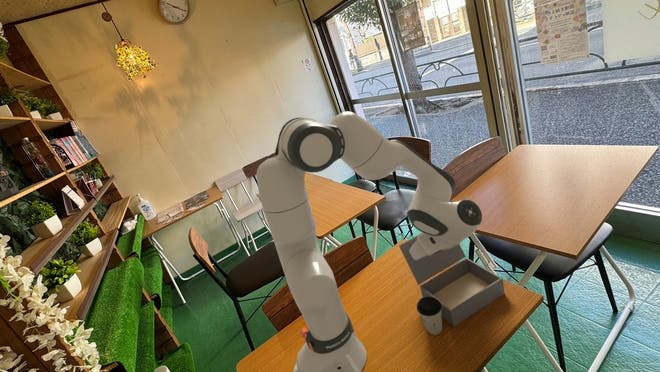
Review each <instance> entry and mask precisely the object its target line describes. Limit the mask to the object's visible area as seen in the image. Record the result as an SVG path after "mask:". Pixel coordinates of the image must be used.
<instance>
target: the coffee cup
mask: <svg viewBox="0 0 660 372" xmlns="http://www.w3.org/2000/svg"><path fill="white" fill-rule="evenodd" d="M441 307H442V305H441V303H440V302H439V301H438V300H437V299H436V298H434V297H424V298H423V297H421V298H420V299H419V300H418V302H417V303H416V310H417V312H418V314H419V317H421V320H422V322H423V323H422V324H423V325H424V326H425V329H426V331H427V332H428V334H430V335H434V336H435V335H439V334H441V333H442V332H443V317H442V315H441Z"/></svg>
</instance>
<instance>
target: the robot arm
mask: <svg viewBox="0 0 660 372" xmlns="http://www.w3.org/2000/svg"><path fill="white" fill-rule="evenodd" d="M274 153H275V156H272V157H270V158H267V159H266V160H264V161H262V163H261V164H259V165H258V167H257V170H256V183H257V191H258V195H259V199H260V203H261V207H262V210H263V212H264V215H265V218H266V221H267V224H268V227H269V228H268V229H269V231H270V234H271V237H272V240H273V242H274V246H275V249H276V252H277V255H278V260H279V261H280V265H281V267H282V270H283V273H284V276H285V278H286V280H285V281H286V282H287V285H288V288H289V291H290V293H291V296H292V297H293V299H294V302H295V304H296V306H297V307H298V310H299V311H300V312H301V315H302V316H303V319H304V321H305V323H306V325H307V327H302V328H301V329H300V334H301V336H302V338H304V339H305V343H304V345H303V346H302V347H301V348H300V350H299V351H298V353H297V356H296V363H295V365H294V368H293V372H362V370H363V369H364V367H365V366H366V362H367V357H368V356H367V349H366V347H365V346H364V344H363V343H362V342H361V341H360V339H358V337H357V335H356V334H355V331H354V326H353V324H352V321H351V318H350V316H349V315H348V314H347V312H346V311H345V308H344V305H343V303H342V300H341V298H340V294H339V291H338V290H339V289H338V285H337V282H336V278H335V276H334V273H333V272H334V271H333V269H332V268H331V267H330V264H328V262H327V260H326V258H325V257H324V254H322V251H321V249H320V246H319V244H318V243H319V242H318V238H317V229H316V227H317V223H316V220H315V217H314V213H313V209H312V205H311V202H310V198H309V195H308V191H307V188H306V183H305V181H306V180H305V178H306V177H305V176H306V172H307V173H319V172H322V171H324V170H326V169H328V168H329V167H331V165H333V164H334V163H335V162H336V161H338V160H339V159H340V160H341V161H343V162H344V163H345V164H346V165H347V166H348V167H349V168H350V169H351V170H352V171H353V172H355V174H357V175H358V176H360V177H361V178H363V179H364V180H370V181H374V180H381V179H383V178H385V177H389V176H390V175H391V174H393V172H395V171H396V170H397V169H398V168H399V167H400V166H401V167H402V168H404V169H405V170H407V171H408V172H409V173H410V174H412V175H413V176H415V177H416V179H417V187H416V189H415V192H414V194H413V196H412V200H411V201H410V203H409V207H408V210H407V212H406V216H407V218H408V221H409V222H410V223H411V225H412V226H413V227H414V228H415V229H416V230H418V231H419V232H421V233H422V234H421V233H419V234H420V235H419V234H418V235H419V236H418V237H417V241H416V242H415V243H414V244H413V245H412V247H411V248H410V250H409V252H410V254H411V256H412V257H413V259H414V260H419V259H421V258H423V257H425V256H427V255H428V256H431V255H433V254H435V253H438V252H440V251H443V250H447V249H451V248H454V247H455V246H457V245H458V244H461V243H462V242H463V241H465V239H467V238H469V237H470V236H472V235H473V233H475V232H476V231H477V230H478V229H479V227H480V226H481V224H482V222H483V213H482V210H481V208H480V206H479V205H478V204H477V203H476V202H475V201H473V200H471V199H467V198H466V199H465V198H464V199H461V200H458V201H451V198H452V196H453V194H454V192H455V190H456V186H457V185H456V181H455V179H454V177H453V176H452V175H451V174H450V173H449V172H448V171H446V170H444V169H442V168H440V167H439V166H436V165H435V164H434V163H433V162H431V161H430V160H428V159H427V158H426V157H425V156H423V155H422V154H420V152H418V151H416V149H414V148H413V147H412V146H410V145H408V143H405V142H403V140H398V139H391V140H389V139H388V138H386V137H385V136H383V134H381V132H380V131H379V130H378V129H376V127H374V126H373V125H372V124H370V123H369V122H368V121H367V120H365V119H364V118H363V117H362V116H360V115H358V113H355V112H352V111H348V110H347V111H343V112H340V113H338V114H337V115H335V117H333V118H332V119H331V120H330V122H328V123H323V122H319V121H317V120H315V119H312V118H307V117H296V118H295V117H294V118H292V119H290V120H288V121H286V122H285V123H284V124H283V126H282V127H281V129H280V131H279V134H278V138H277V142H276V146H275V151H274ZM450 201H451V202H450ZM307 328H308V329H307Z"/></svg>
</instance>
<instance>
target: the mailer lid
mask: <svg viewBox="0 0 660 372" xmlns="http://www.w3.org/2000/svg"><path fill="white" fill-rule="evenodd" d="M422 233H423V232H421V233H419V234H417V235H416V236H414V237H411V238H410V239H408V240H406V241H405V242H402V243H401V244H399V245H398V247H399V249H400V252H401V253H402V256H403V257H404V259H405V261H406V263H407V265H408V267H409V269H410V272H411V273H412V275H413V278H414V280H415V281H416V283H417V285H418V286H419V285H422V284H424V283H425V282H427V281H429V279H432V277H433V278H434V277H435V276H437V275H439V274H440V273H442V272H444V271H446V270H447V269H449V268H451V267H452V266H454V265H456V263H459V261H460V262H461V261H462V260H464V259H466V258H467V257H466V256H467V255H466V254H465V252H464V250H463V247H462V246H461V243H459V244H458V245H457V246H455V247H454V248H451V249H447V250H443V251H440V252H438V253H435V254H433V255H431V256H428V255H427V256H425V257H423V258H421V259H419V260H414V259H413V257H412V256H411V254H410V252H409V250H410V248H411V247H412V245H413V244H414V243H415V242H416V241H417V237H418V236H419V235H420V234H422Z"/></svg>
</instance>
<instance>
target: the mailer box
mask: <svg viewBox="0 0 660 372" xmlns="http://www.w3.org/2000/svg"><path fill="white" fill-rule="evenodd" d="M419 287H420V292H421V298H424V297H434V298H436V299H437V300H438V301H439V302H440V303H441V305H442V307H441V315H442V319H444V320H445V321H447V323H448V324H450V325H451V326H452V327H453V328H455V327H456V326H458V325H460V324H461V323H463V322H465V321H466V320H467V319H469V318H470V317H472V316H474V315H475V314H477V312H479V311H481V310H482V309H484V308H485V307H487V306H488V305H490V304H492V303H493V302H495V301H496V300H497V299H499V298H500V297H502V296H503V295H504V294H506V293H505V286H504V278H502V277H501V276H499V275H498V274H496V273H494V272H492V271H490V270H489V269H487V268H486V267H483V266H482V265H480V264H478V263H476V262H475V261H473V260H471V259H469V258H468V257H465V258H463V259H462V260H460V262H459V261H458V262H457V264H456V263H455V264H453V265H452V266H450V267H448V268H447V269H445V270H443V271H442V272H440V273H438V274H437V275H435V276H433V278H430V280H429V279H428V280H427V281H425V282H423V283H422V284H420V286H419Z"/></svg>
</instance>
